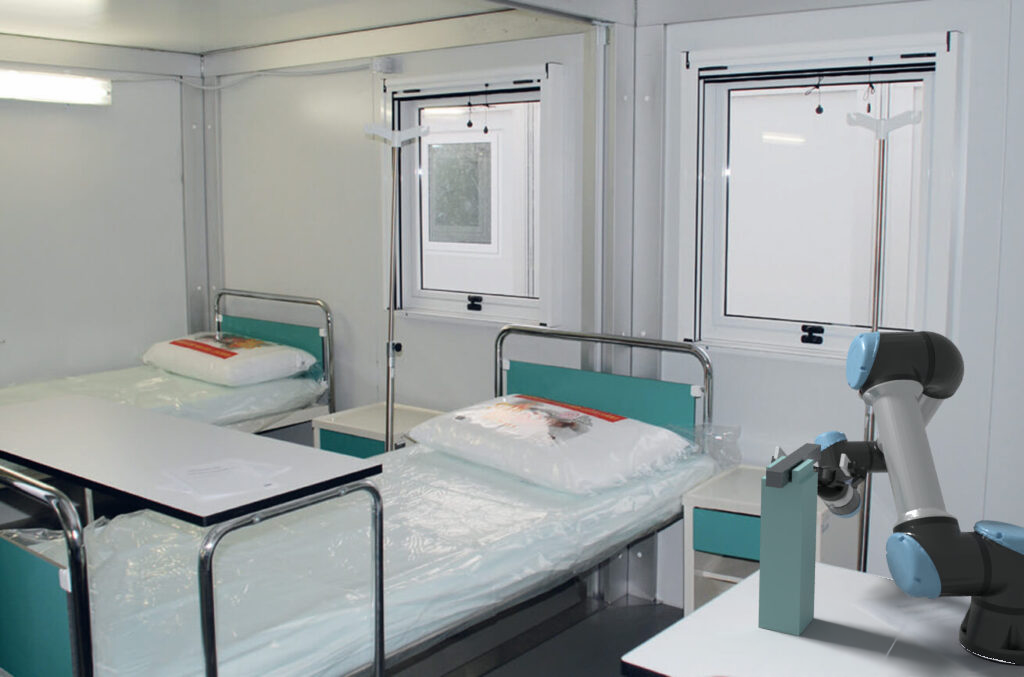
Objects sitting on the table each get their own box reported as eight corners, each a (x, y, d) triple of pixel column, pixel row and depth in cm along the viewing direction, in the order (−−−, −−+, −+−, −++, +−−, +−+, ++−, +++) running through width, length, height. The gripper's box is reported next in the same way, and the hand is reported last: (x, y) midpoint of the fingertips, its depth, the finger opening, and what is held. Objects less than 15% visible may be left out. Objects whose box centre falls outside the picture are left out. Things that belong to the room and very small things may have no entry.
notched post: (774, 609, 204) (778, 455, 200) (813, 618, 199) (818, 460, 195) (758, 627, 195) (761, 466, 191) (798, 636, 191) (803, 471, 187)
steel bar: (806, 457, 208) (806, 443, 207) (820, 458, 206) (821, 444, 206) (765, 486, 186) (766, 470, 186) (781, 488, 184) (781, 472, 184)
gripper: (887, 510, 214) (868, 481, 198) (774, 494, 228) (747, 465, 211) (892, 477, 217) (874, 445, 200) (780, 463, 230) (753, 432, 214)
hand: (808, 456), depth 206 cm, fingers open, 13 cm apart
